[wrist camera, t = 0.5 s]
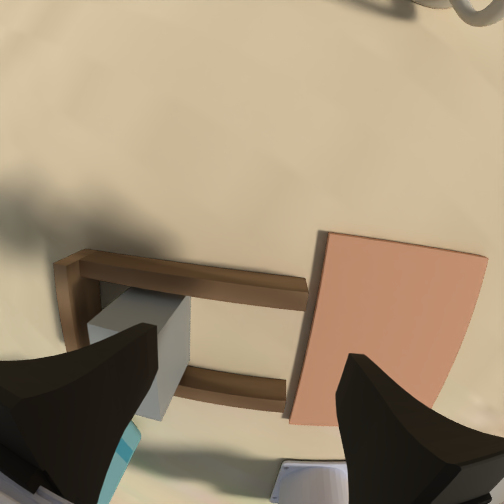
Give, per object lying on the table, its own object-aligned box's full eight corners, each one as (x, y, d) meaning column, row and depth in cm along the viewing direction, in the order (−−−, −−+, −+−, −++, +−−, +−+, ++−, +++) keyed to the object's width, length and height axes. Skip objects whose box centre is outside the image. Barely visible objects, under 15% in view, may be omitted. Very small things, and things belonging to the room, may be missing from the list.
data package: (122, 396, 24) (62, 489, 13) (146, 429, 25) (101, 521, 13) (51, 402, 26) (-2, 466, 15) (73, 430, 27) (27, 495, 15)
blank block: (189, 359, 22) (161, 421, 15) (142, 349, 22) (103, 404, 16) (191, 288, 21) (153, 340, 14) (138, 280, 21) (87, 323, 14)
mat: (421, 418, 22) (423, 422, 22) (289, 419, 23) (289, 424, 22) (484, 256, 18) (488, 258, 18) (328, 232, 19) (329, 234, 18)
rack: (283, 391, 22) (283, 426, 18) (96, 354, 23) (73, 379, 19) (305, 278, 20) (311, 303, 16) (85, 248, 21) (53, 263, 17)
